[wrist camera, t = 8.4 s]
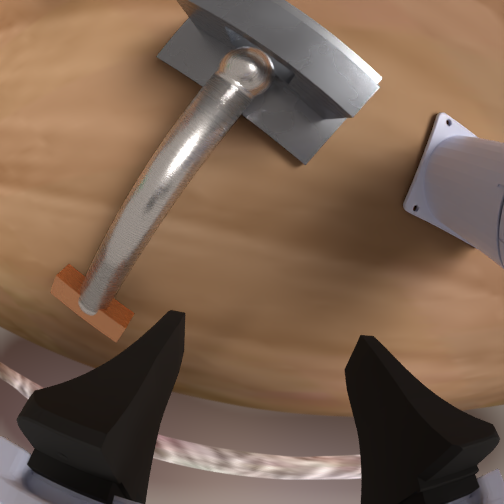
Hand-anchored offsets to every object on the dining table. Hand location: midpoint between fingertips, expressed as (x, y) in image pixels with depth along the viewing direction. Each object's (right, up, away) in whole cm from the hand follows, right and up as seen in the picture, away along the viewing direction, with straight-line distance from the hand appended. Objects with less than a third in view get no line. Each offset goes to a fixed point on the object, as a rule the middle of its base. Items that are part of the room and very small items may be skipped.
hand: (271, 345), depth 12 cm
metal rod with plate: (-6, +7, +5) cm, 11 cm away
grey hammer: (-5, +9, +7) cm, 13 cm away
